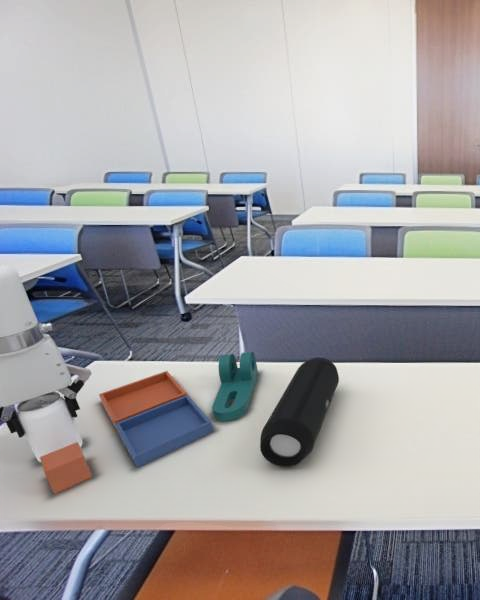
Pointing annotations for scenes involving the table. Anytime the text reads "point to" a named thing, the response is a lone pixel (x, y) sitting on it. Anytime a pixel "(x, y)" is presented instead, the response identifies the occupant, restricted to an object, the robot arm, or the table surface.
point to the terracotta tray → (141, 396)
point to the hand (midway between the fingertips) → (48, 422)
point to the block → (65, 467)
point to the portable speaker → (299, 413)
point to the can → (47, 424)
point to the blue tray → (163, 429)
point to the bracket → (235, 386)
